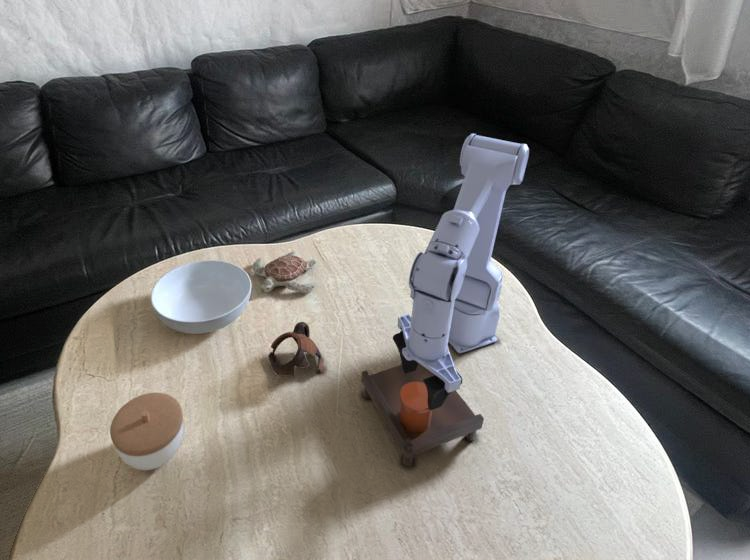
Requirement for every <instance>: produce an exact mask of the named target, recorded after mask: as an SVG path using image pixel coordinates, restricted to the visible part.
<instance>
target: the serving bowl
mask: <svg viewBox="0 0 750 560" xmlns="http://www.w3.org/2000/svg"><path fill="white" fill-rule="evenodd" d="M252 288H253V287H252V280H251V277H250V275H249V274H248V273H247V271H246V270H244V268H242V267H241V266H238V265H236V264H235V263H232V262H229V261H224V260H220V259H219V260H218V259H205V260H196V261H191V262H188V263H184V264H181V265H179V266H176V267H174V268H173V269H171V270H169V271H167V272H166V273H164V274H163V275H162V276H161V277H159V279H158V280H157V281H156V283H155V284H154V285H153V287H152V289H151V293H150V303H151V307H152V308H153V311H154V313H155V315H156V316H157V318H158V319H159V320H160V321H161V322H162V323H163V324H164V325H166V326H167V327H168V328H170V329H171V330H175V331H177V332H181V333H184V334H195V335H197V334H207V333H211V332H215V331H218V330H220V329H223V328H225V327H227V326H229V325H230V324H231V323H233V322H235V321H236V320H237V319H238V318H239V317H240V316H241V315H242V314H243V312H244V311H245V309H247V306H248V304H249V301H250V299H251V294H252Z"/></svg>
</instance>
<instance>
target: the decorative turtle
mask: <svg viewBox="0 0 750 560" xmlns="http://www.w3.org/2000/svg"><path fill="white" fill-rule="evenodd" d="M263 260H264V259H263V257H259V258H257V259H256V260H255V261H254V262H253V264H252V267H251V270H252V271H253V272H254V273H255V274H256V275H258V276H260V277H265V278H266V279H264V280H263V281H262V282H261V283H260V289H261V290H260V291H261V293H269V292H271V291H273V290H274V289H275V287H281V286H285V287H286V288H287V289H288V290H290V291H292V292H297V293H303V294H304V293H305V294H307V293H310V292H312V291H314V290H315V289H316V288H317V287H318V286H319V285H320V284H319V282H318V281H311V282H305V283H303V282H299V281H298V280H299V279H300V277H301V276H302V275H303V273H304V271H306V270H312V269H314V268H315V267H316V266H317V263H318V262H317V260H316V259H312V258H311V259H309V260H307V261H305V260H304V259H303V258H301V257H299V256H298V252H297V251H291V252H289V253H286V254H285V255H282V256H278V257H277V258H275V259H274V260H272V261H269V262H268V263H267V264H265V266H263Z"/></svg>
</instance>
